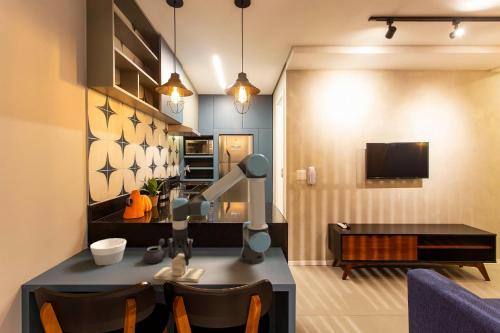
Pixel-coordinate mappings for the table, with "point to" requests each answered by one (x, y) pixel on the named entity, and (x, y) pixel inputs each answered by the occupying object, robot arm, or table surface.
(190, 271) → the board
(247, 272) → the table surface
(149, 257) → the teapot
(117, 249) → the bowl
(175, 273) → the sanding block
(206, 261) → the table surface
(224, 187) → the robot arm
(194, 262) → the table surface
